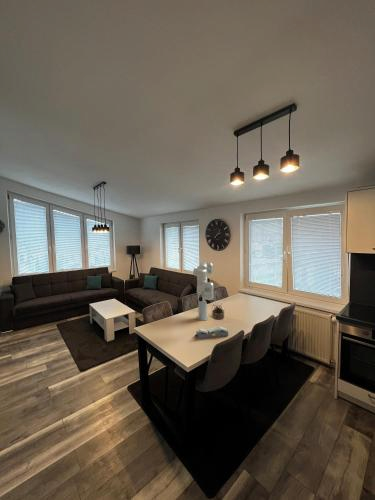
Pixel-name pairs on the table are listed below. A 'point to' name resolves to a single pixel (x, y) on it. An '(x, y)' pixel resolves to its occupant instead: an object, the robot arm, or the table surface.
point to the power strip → (211, 334)
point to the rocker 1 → (202, 330)
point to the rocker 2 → (212, 329)
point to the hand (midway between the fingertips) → (200, 301)
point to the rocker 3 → (222, 328)
